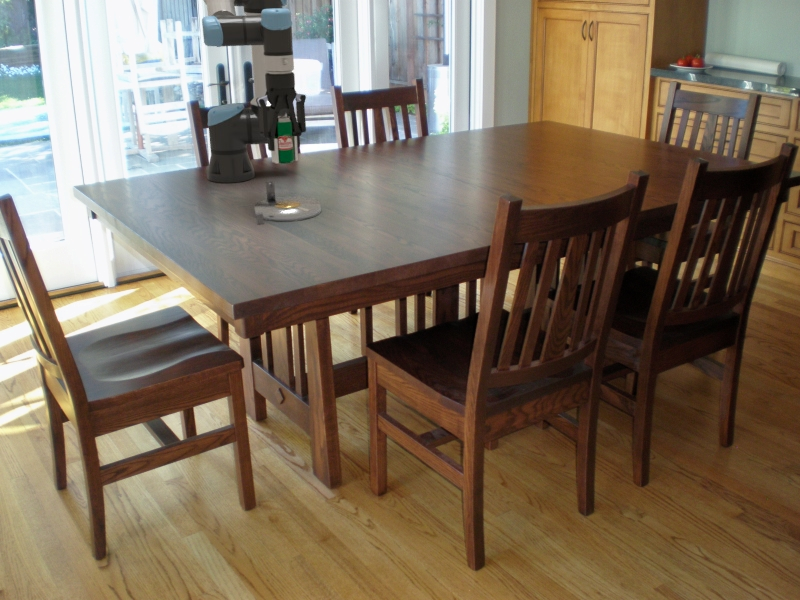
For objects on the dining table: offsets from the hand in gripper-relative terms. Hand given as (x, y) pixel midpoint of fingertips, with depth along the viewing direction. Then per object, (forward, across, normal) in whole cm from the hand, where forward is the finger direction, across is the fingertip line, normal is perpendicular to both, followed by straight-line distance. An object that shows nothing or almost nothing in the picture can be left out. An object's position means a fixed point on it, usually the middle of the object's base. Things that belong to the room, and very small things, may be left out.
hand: (285, 160), depth 221 cm
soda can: (0, 0, 0) cm, 0 cm away
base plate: (+16, 0, 0) cm, 16 cm away
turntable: (+14, 0, 0) cm, 14 cm away
